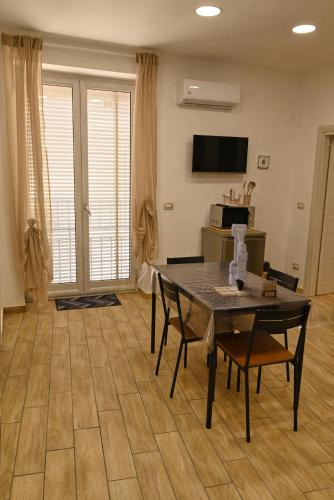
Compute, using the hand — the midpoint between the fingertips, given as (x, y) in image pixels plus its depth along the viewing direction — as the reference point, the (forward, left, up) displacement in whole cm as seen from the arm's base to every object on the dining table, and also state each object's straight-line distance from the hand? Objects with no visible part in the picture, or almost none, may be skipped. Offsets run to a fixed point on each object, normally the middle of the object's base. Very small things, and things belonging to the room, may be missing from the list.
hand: (239, 290), depth 266 cm
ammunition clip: (+11, +16, -2) cm, 19 cm away
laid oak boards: (0, -11, -2) cm, 11 cm away
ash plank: (0, -1, -2) cm, 2 cm away
